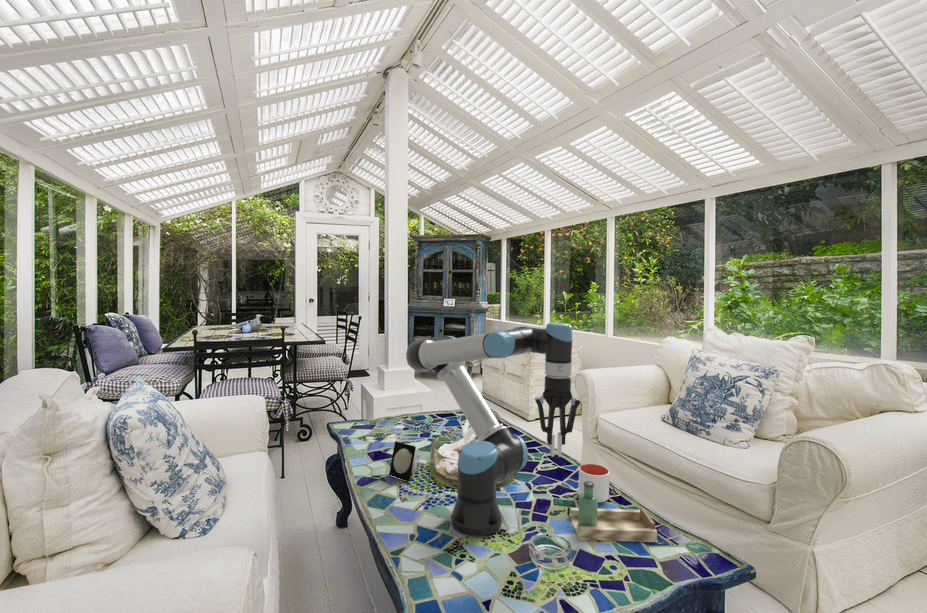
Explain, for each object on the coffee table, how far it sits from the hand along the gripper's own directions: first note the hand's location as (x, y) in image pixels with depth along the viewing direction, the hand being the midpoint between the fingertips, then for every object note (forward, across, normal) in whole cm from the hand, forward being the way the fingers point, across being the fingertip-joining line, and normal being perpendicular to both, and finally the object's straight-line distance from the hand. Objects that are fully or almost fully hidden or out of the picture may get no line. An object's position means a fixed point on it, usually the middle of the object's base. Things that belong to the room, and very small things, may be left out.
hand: (555, 454), depth 132 cm
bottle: (+21, +10, 0) cm, 24 cm away
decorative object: (+23, -49, +34) cm, 64 cm away
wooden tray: (+22, +17, 0) cm, 28 cm away
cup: (+23, +17, +20) cm, 35 cm away
